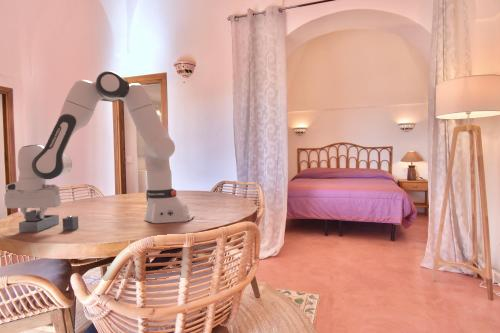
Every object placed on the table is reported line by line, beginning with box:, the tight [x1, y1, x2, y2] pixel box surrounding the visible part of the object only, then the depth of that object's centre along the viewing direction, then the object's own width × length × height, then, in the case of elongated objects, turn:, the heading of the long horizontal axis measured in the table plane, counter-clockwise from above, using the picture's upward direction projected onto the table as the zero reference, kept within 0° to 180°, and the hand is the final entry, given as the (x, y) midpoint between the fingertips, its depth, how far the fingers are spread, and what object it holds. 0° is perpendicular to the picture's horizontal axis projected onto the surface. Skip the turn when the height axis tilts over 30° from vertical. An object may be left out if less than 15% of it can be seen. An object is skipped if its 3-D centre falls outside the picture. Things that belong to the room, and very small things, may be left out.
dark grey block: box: [61, 215, 79, 232], centre depth 119 cm, size 4×4×6 cm
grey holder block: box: [18, 214, 60, 234], centre depth 122 cm, size 14×7×4 cm, turn 2°
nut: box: [25, 209, 43, 222], centre depth 119 cm, size 4×4×6 cm
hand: (34, 218), depth 119 cm, fingers closed on nut, 4 cm apart
